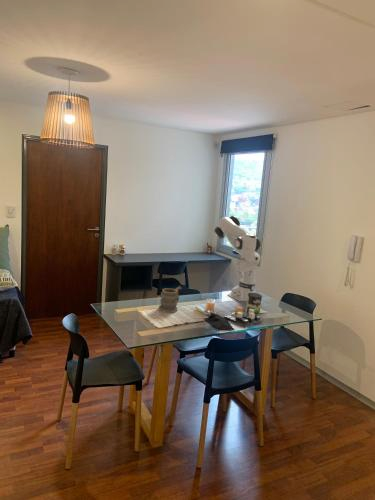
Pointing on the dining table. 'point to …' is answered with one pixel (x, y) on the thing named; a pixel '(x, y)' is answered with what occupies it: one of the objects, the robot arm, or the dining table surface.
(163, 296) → the tankard
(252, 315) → the toggle tagged
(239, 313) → the toggle left
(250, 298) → the coffee can
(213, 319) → the dark slate chunk
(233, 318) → the breaker panel
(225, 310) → the dining table surface
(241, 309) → the lockout cap
